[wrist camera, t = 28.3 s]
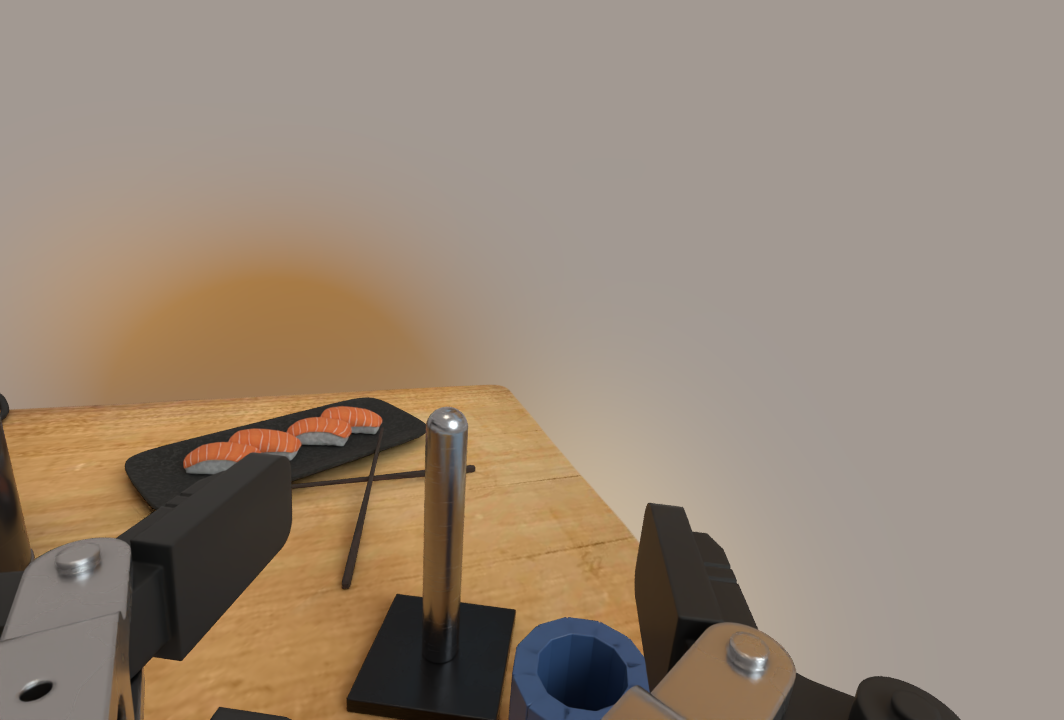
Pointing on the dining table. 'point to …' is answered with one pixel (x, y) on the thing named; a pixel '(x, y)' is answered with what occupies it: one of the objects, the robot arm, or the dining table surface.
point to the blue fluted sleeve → (573, 671)
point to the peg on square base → (438, 612)
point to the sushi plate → (285, 452)
